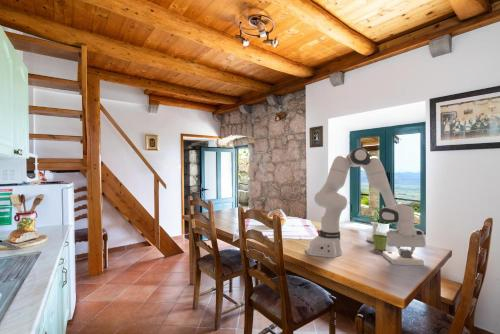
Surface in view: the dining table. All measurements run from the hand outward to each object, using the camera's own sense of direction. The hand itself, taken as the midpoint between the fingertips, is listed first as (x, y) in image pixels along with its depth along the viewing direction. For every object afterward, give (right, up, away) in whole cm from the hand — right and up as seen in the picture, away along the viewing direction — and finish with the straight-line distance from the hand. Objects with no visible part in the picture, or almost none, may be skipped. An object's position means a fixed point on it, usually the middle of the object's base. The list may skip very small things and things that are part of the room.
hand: (405, 254), depth 143 cm
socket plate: (-2, -4, 0) cm, 4 cm away
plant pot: (-5, -4, +20) cm, 21 cm away
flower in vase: (0, -4, +36) cm, 37 cm away
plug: (0, -4, 0) cm, 4 cm away
